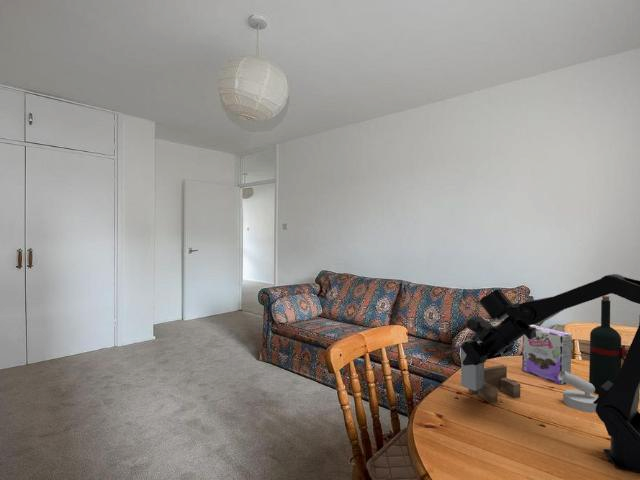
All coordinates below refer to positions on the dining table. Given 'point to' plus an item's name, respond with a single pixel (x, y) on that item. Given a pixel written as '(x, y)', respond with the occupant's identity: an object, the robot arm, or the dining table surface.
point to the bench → (497, 384)
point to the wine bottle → (605, 350)
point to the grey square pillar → (471, 374)
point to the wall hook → (578, 393)
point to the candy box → (547, 353)
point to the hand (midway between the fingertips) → (468, 362)
